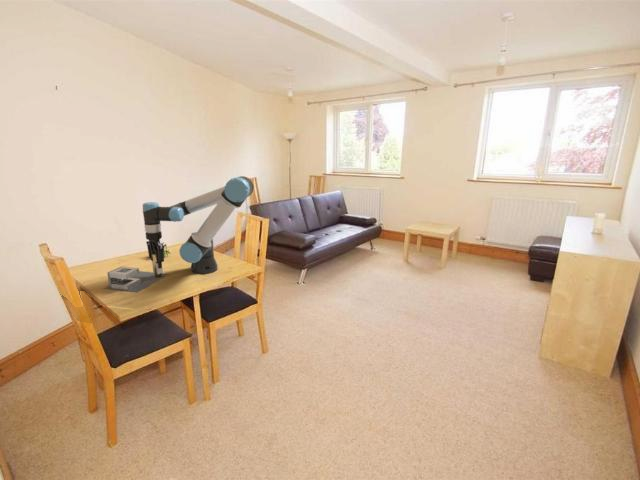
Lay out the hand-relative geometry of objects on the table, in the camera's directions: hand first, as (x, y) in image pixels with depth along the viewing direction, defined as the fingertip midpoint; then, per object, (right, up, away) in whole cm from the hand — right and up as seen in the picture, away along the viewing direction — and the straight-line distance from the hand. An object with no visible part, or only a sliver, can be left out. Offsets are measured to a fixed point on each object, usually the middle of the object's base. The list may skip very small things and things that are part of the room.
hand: (158, 272), depth 171 cm
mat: (-7, -4, -6) cm, 10 cm away
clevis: (-9, -6, -13) cm, 17 cm away
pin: (0, -2, +1) cm, 2 cm away
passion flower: (-16, +7, +34) cm, 38 cm away
